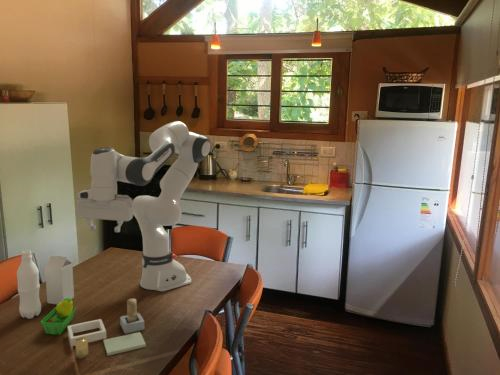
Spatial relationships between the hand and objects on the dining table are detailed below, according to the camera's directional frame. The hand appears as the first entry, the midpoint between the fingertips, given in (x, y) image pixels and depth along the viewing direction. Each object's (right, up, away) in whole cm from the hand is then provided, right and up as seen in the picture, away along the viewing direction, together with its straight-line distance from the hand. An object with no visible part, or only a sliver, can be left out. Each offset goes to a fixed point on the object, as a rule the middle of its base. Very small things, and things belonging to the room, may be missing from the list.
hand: (105, 230), depth 152 cm
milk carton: (-23, -30, +16) cm, 41 cm away
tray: (-3, -35, -10) cm, 37 cm away
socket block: (+11, -35, -4) cm, 36 cm away
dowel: (+11, -34, -4) cm, 35 cm away
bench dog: (0, -38, -21) cm, 43 cm away
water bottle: (-29, -32, +4) cm, 43 cm away
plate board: (+11, -37, -14) cm, 42 cm away
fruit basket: (-14, -34, -4) cm, 37 cm away
